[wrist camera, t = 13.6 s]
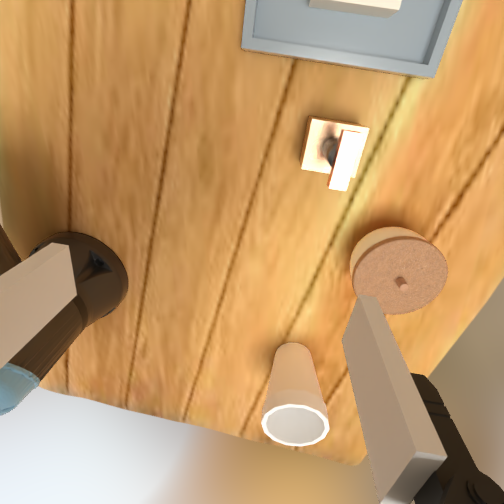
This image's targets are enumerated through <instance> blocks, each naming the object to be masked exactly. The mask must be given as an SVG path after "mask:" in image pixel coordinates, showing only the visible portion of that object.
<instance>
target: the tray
mask: <svg viewBox="0 0 504 504" xmlns="http://www.w3.org/2000/svg"><path fill="white" fill-rule="evenodd" d="M462 1H463V0H402V2H401V5H400V9H399V11H397V12H396V13H394V14H393V15H392V16H390V17H389V18H381V17H374V16H367V15H360V14H354V13H347V12H340V11H333V10H326V9H319V8H312V7H309V2H310V0H246V5H245V14H244V24H243V34H242V44H241V48H242V49H243V50H244V51H248V52H255V53H261V54H268V55H274V56H280V57H287V58H293V59H300V60H306V61H312V62H319V63H325V64H332V65H338V66H344V67H351V68H357V69H363V70H370V71H376V72H383V73H389V74H395V75H402V76H408V77H415V78H421V79H429V78H434V77H435V74H436V71H437V69H438V66H439V63H440V60H441V58H442V55H443V52H444V50H445V47H446V44H447V42H448V39H449V36H450V33H451V31H452V28H453V25H454V23H455V20H456V17H457V14H458V12H459V9H460V6H461V4H462Z"/></svg>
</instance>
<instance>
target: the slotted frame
mask: <svg viewBox="0 0 504 504" xmlns="http://www.w3.org/2000/svg"><path fill="white" fill-rule="evenodd" d="M401 2H402V0H310V2H309V7H312V8H319V9H326V10H333V11H340V12H347V13H354V14H360V15H367V16H374V17H381V18H389V17H390V16H392V15H393V14H394V13H396V12H397V11H399V9H400V5H401Z"/></svg>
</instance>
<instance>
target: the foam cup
mask: <svg viewBox="0 0 504 504" xmlns="http://www.w3.org/2000/svg"><path fill="white" fill-rule="evenodd" d="M261 424H262V427H263V430H264V432H265V433H266V434H267V435H268V436H269V437H270V438H271V439H273V440H274V441H277V442H280V443H282V444H285V445H291V446H305V445H311V444H315V443H317V442H318V441H320V440H322V439H323V438H325V436H326V435H327V433H328V431H329V422H328V414H327V409H326V404H325V403H324V401H323V398H322V394H321V390H320V387H319V383H318V379H317V375H316V372H315V368H314V364H313V360H312V357H311V353H310V351H309V349H308V348H307V347H306V346H304V345H302V344H299V343H292V342H289V343H286V344H283V345H281V346H280V347H279V348H278V349H277V351H276V354H275V357H274V362H273V367H272V372H271V376H270V381H269V386H268V391H267V395H266V400H265V403H264V405H263V408H262V421H261Z"/></svg>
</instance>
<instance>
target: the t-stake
mask: <svg viewBox="0 0 504 504" xmlns="http://www.w3.org/2000/svg"><path fill="white" fill-rule="evenodd" d="M368 131H369V128H368V127H366V126H363V125H361V124H357V123H351V122H345V121H338V120H332V119H326V118H320V117H313V116H309V118H308V122H307V127H306V132H305V137H304V142H303V146H302V151H301V156H300V165H301V169H305V170H311V171H317V172H323V173H329V174H330V175H329V179H328V182H327V185H328V188H330V189H336V190H342V191H346V190H347V187H348V183H349V180H350V177H353V178H355V174H356V171H357V168H358V165H359V161H360V158H361V155H362V151H363V148H364V145H365V141H366V138H367V135H368Z"/></svg>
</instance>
